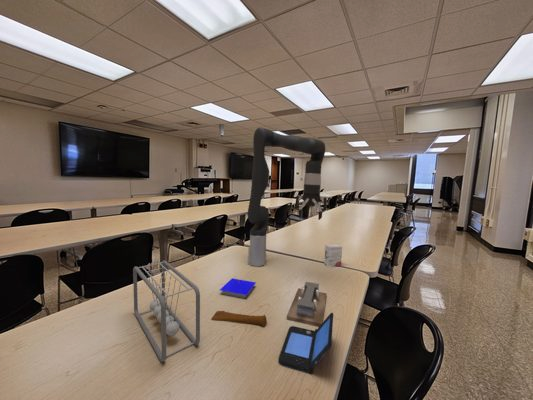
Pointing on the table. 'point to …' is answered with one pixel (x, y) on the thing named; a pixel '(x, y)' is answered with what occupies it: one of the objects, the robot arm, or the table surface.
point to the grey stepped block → (307, 300)
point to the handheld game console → (306, 346)
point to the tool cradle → (318, 308)
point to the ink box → (333, 255)
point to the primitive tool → (239, 318)
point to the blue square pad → (238, 288)
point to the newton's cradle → (165, 308)
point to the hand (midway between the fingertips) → (310, 218)
